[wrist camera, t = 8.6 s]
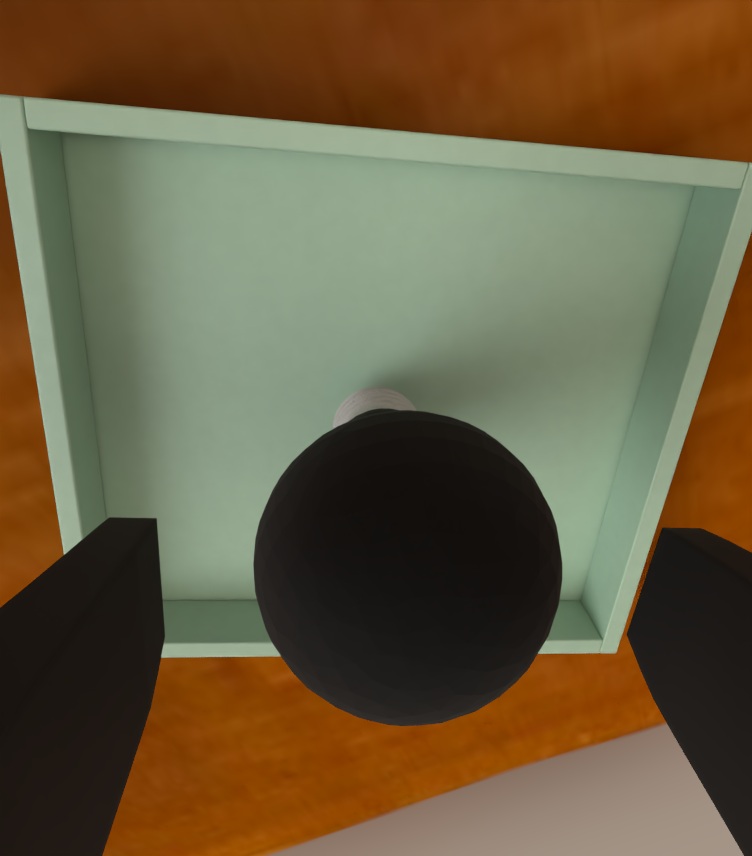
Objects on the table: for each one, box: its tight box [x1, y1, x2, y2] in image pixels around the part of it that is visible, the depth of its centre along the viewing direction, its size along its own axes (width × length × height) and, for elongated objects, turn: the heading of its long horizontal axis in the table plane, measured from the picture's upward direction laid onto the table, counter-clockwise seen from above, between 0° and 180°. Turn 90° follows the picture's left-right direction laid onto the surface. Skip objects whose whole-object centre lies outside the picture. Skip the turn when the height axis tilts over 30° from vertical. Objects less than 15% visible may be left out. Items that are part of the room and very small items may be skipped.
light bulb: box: [253, 387, 562, 726], centre depth 14 cm, size 6×6×10 cm
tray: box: [0, 94, 752, 658], centre depth 18 cm, size 17×15×2 cm
